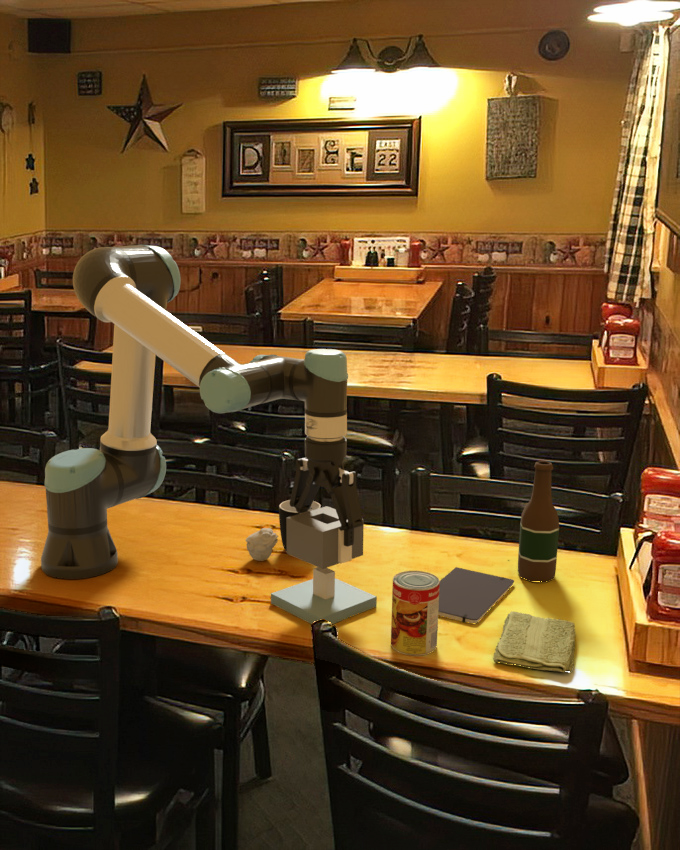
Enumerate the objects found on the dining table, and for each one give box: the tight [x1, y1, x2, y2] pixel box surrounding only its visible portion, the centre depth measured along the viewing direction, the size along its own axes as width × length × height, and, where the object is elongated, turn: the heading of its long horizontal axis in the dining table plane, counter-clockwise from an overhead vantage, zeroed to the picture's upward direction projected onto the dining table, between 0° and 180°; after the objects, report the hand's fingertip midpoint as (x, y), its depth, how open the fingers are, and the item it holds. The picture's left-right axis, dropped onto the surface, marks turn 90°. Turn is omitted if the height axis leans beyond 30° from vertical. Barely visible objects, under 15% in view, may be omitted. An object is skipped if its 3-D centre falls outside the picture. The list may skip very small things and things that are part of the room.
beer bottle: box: [517, 460, 560, 583], centre depth 186 cm, size 8×8×24 cm
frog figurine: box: [245, 527, 279, 562], centre depth 194 cm, size 6×7×7 cm
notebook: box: [438, 566, 515, 624], centre depth 179 cm, size 13×2×21 cm
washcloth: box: [492, 611, 576, 673], centre depth 158 cm, size 13×18×3 cm
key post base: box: [270, 566, 378, 625], centre depth 173 cm, size 14×14×7 cm
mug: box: [278, 499, 322, 553], centre depth 201 cm, size 12×9×10 cm
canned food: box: [390, 570, 440, 657], centre depth 158 cm, size 8×8×12 cm
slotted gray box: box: [286, 505, 365, 569], centre depth 171 cm, size 10×10×7 cm
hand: (324, 553), depth 171 cm, fingers closed on slotted gray box, 10 cm apart
